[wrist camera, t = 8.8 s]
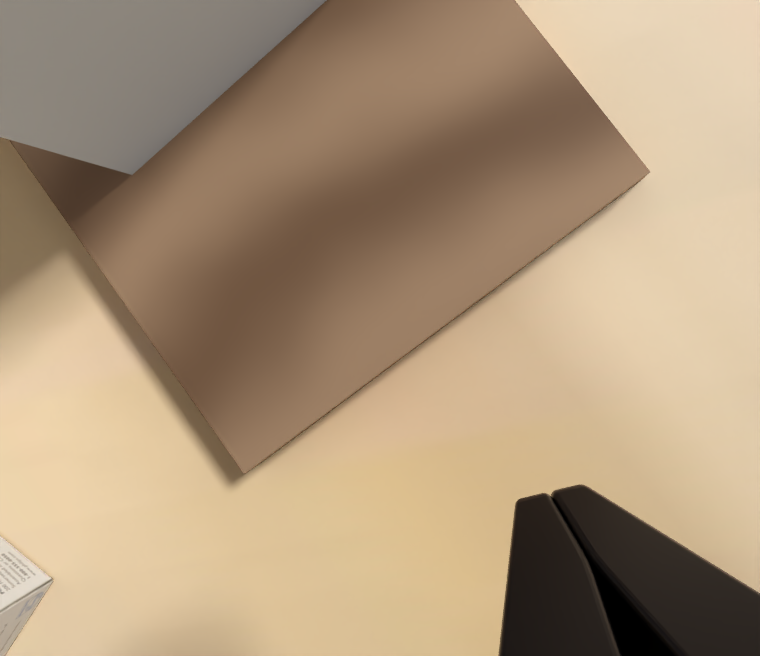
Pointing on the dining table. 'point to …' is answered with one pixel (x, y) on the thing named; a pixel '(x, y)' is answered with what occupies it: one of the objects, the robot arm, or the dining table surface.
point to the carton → (126, 69)
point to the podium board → (343, 204)
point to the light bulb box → (18, 592)
